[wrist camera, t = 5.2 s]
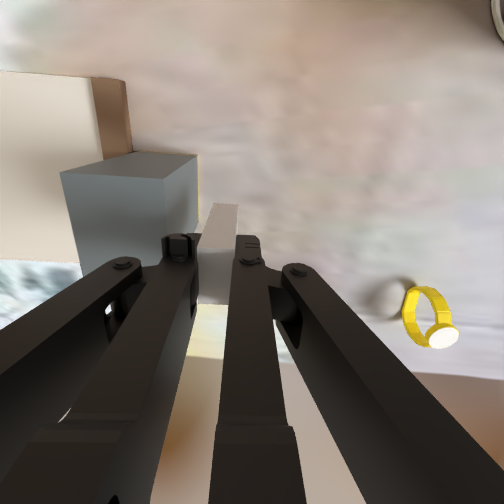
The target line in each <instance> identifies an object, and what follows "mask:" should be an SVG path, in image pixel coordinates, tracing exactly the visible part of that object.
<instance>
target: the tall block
mask: <svg viewBox="0 0 504 504" xmlns="http://www.w3.org/2000/svg"><path fill="white" fill-rule="evenodd" d="M59 174H60V178H61V183H62V187H63V191H64V196H65V200H66V205H67V209H68V213H69V218H70V222H71V226H72V231H73V235H74V239H75V244H76V248H77V252H78V257H79V261H80V266H81V270H82V274H83V277H84V276H86V275H87V274H89V273H90V272H92V271H94V270H95V269H97V268H98V267H100V266H101V265H103V264H105V263H106V262H108V261H110V260H112V259H115V258H118V257H122V256H123V257H124V256H128V257H135V258H138V259H139V260H140V261H141V266H142V267H145V266H153V265H158V264H159V262H160V261H161V259H162V257H163V256H162V244H161V238H162V237H163V236H166V235H168V234H174V233H184V234H187V233H194V231H195V229H196V226H197V224H198V222H199V189H198V155H190V154H176V153H161V152H147V151H137V152H133V153H129V154H126V155H122V156H118V157H114V158H111V159H107V160H103V161H99V162H96V163H92V164H88V165H84V166H81V167H77V168H73V169H69V170H66V171H62V172H59Z"/></svg>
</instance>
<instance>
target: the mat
mask: <svg viewBox="0 0 504 504" xmlns="http://www.w3.org/2000/svg"><path fill="white" fill-rule="evenodd" d="M99 161H103V154H102V147H101V141H100V135H99V128H98V122H97V116H96V109H95V103H94V97H93V90H92V84H91V78H80V77H68V76H56V75H44V74H32V73H20V72H8V71H0V259H5V260H26V261H46V262H66V263H80V261H79V257H78V252H77V248H76V244H75V239H74V235H73V231H72V226H71V222H70V218H69V213H68V209H67V205H66V200H65V196H64V191H63V187H62V183H61V178H60V174H59V172H62V171H66V170H69V169H73V168H77V167H81V166H84V165H88V164H92V163H96V162H99Z"/></svg>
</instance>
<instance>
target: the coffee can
mask: <svg viewBox="0 0 504 504" xmlns="http://www.w3.org/2000/svg"><path fill="white" fill-rule="evenodd" d="M491 9H492V16H493V21H494V24H495V27H496V30H497V32H498V34H499V36H500V37H501V39H502V40H503V41H504V0H491Z"/></svg>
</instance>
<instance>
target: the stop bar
mask: <svg viewBox="0 0 504 504" xmlns="http://www.w3.org/2000/svg"><path fill="white" fill-rule="evenodd" d="M90 78H91V84H92V90H93V97H94V103H95V109H96V116H97V122H98V128H99V135H100V141H101V147H102V154H103V160H107V159H111V158H114V157H118V156H122V155H126V154H129V153H133V148H132V139H131V130H130V121H129V112H128V103H127V94H126V86H125V82H124V81H121V80H118V79H106V78H94V77H90Z"/></svg>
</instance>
